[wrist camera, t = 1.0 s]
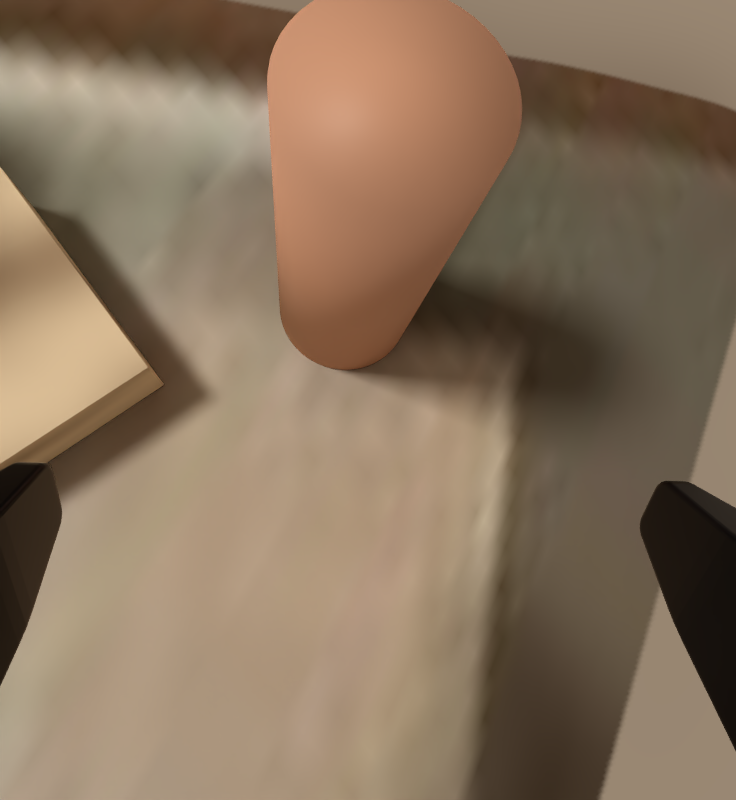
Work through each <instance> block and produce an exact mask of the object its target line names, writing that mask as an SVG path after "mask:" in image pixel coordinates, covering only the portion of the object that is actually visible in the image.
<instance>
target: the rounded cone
mask: <svg viewBox="0 0 736 800" xmlns="http://www.w3.org/2000/svg"><path fill="white" fill-rule="evenodd" d="M267 89H268V107H269V125H270V142H271V160H272V178H273V195H274V213H275V231H276V248H277V266H278V284H279V301H280V314H281V320H282V324H283V327H284V329H285V332H286V334H287V336H288V337H289V339H290V341H291V342H292V343H293V345H294V346H295V347H296V348H297V349H298V350H299V351H300V352H301V353H302V354H303V355H305V356H306V357H307V358H309V359H310V360H312V361H314V362H316V363H318V364H320V365H323V366H325V367H329V368H333V369H340V370H351V369H359V368H363V367H366V366H369V365H371V364H374V363H376V362H377V361H379V360H381V359H382V358H384V357H385V356H386V355H387V354H388V353H389V352H390V351H391V350H392V349H393V348H394V347H395V346H396V344H397V343H398V341H399V340H400V338H401V336H402V335H403V333H404V331H405V330H406V328H407V326H408V325H409V323H410V321H411V320H412V318H413V316H414V315H415V313H416V311H417V310H418V308H419V306H420V305H421V303H422V301H423V300H424V298H425V296H426V295H427V293H428V291H429V290H430V288H431V286H432V285H433V283H434V281H435V280H436V278H437V276H438V275H439V273H440V271H441V270H442V268H443V266H444V265H445V263H446V262H447V260H448V258H449V257H450V255H451V253H452V252H453V250H454V248H455V247H456V245H457V243H458V242H459V240H460V238H461V237H462V235H463V233H464V232H465V230H466V228H467V227H468V225H469V223H470V222H471V220H472V218H473V217H474V215H475V213H476V212H477V210H478V208H479V207H480V205H481V203H482V202H483V200H484V198H485V197H486V195H487V193H488V192H489V190H490V188H491V187H492V185H493V183H494V182H495V180H496V178H497V177H498V175H499V174H500V172H501V170H502V169H503V167H504V165H505V164H506V162H507V160H508V158H509V157H510V155H511V153H512V151H513V149H514V147H515V144H516V141H517V139H518V136H519V131H520V126H521V121H522V101H521V92H520V88H519V84H518V80H517V77H516V74H515V71H514V69H513V66H512V64H511V62H510V60H509V58H508V57H507V55H506V53H505V51H504V50H503V48H502V47H501V46H500V44H499V43H498V41H497V40H496V39H495V37H494V36H493V35H492V34H491V33H490V32H489V31H488V30H487V28H486V27H485V26H483V25H482V24H481V23H480V22H479V21H478V20H477V19H476V18H475V17H473V16H472V15H470V14H469V13H468V12H466V11H465V10H464V9H462V8H460V7H459V6H457V5H455V4H454V3H452V2H450V1H448V0H314V1H313V2H311V3H310V4H308V5H307V6H306V7H304V8H303V9H302V10H300V11H299V12H298V13H297V14H296V15H295V16H294V17H293V18H292V19H291V20H290V21H289V23H288V24H287V25H286V27H285V28H284V29H283V31H282V32H281V34H280V36H279V38H278V40H277V42H276V44H275V46H274V49H273V52H272V55H271V58H270V62H269V68H268V84H267Z"/></svg>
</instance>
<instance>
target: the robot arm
mask: <svg viewBox="0 0 736 800" xmlns="http://www.w3.org/2000/svg"><path fill="white" fill-rule="evenodd" d="M61 519H62V508H61V503H60V499H59V494H58V490H57V486H56V482H55V478H54V473H53V470H52V468H51V467H50V465H48V464H46V463H43V462H16V463H13V464H11V465H9V466H7V467H5V468H4V469H2V470H0V686H1V683H2V681H3V679H4V677H5V675H6V672H7V670H8V668H9V666H10V664H11V661H12V659H13V657H14V655H15V653H16V650H17V648H18V646H19V644H20V641H21V639H22V637H23V634H24V632H25V630H26V627H27V625H28V622H29V619H30V616H31V613H32V611H33V608H34V605H35V601H36V598H37V595H38V592H39V589H40V586H41V583H42V580H43V577H44V574H45V571H46V568H47V564H48V561H49V558H50V555H51V552H52V549H53V546H54V543H55V540H56V537H57V534H58V531H59V527H60V524H61ZM640 532H641V536H642V539H643V542H644V545H645V547H646V550H647V553H648V555H649V558H650V561H651V563H652V566H653V569H654V572H655V574H656V577H657V580H658V582H659V585H660V588H661V590H662V593H663V596H664V599H665V601H666V604H667V607H668V609H669V612H670V614H671V617H672V619H673V622H674V624H675V626H676V628H677V631H678V633H679V635H680V637H681V639H682V641H683V644H684V645H685V648H686V649H687V652H688V654H689V656H690V658H691V660H692V662H693V664H694V665H695V668H696V670H697V672H698V674H699V676H700V678H701V681H702V682H703V685H704V687H705V689H706V691H707V693H708V695H709V697H710V699H711V701H712V703H713V705H714V707H715V709H716V711H717V713H718V716H719V718H720V720H721V722H722V724H723V726H724V728H725V730H726V732H727V734H728V736H729V738H730V740H731V742H732V744H733V746H734V749H735V750H736V508H735V507H733V506H731V505H729V504H727V503H725V502H724V501H722V500H720V499H719V498H717V497H715V496H713V495H712V494H710V493H708V492H706V491H704V490H703V489H701V488H699V487H697V486H696V485H694V484H692V483H689V482H685V481H664V482H661V483H660V484H659V485H658V486H657V487H656V488H655V490H654V493H653V495H652V497H651V499H650V501H649V503H648V505H647V507H646V509H645V511H644V513H643V515H642V518H641V521H640Z"/></svg>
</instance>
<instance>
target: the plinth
mask: <svg viewBox="0 0 736 800" xmlns="http://www.w3.org/2000/svg"><path fill="white" fill-rule="evenodd" d="M163 385H164V383H163V382H162V381H161V379H160V378H159V377H158V375H157V374H156V373H155V371H154V370H153V369H152V367H151V366H150V364H149V363H148V362H147V360H146V359H145V358H144V356H143V355H142V354H141V352H140V351H139V350H138V348H137V347H136V346H135V344H134V343H133V341H132V340H131V339H130V337H129V336H128V335H127V333H126V332H125V331H124V329H123V328H122V327H121V325H120V324H119V322H118V321H117V320H116V318H115V317H114V316H113V314H112V313H111V312H110V310H109V309H108V308H107V306H106V305H105V304H104V302H103V301H102V299H101V298H100V297H99V295H98V294H97V293H96V291H95V290H94V289H93V287H92V286H91V285H90V283H89V282H88V281H87V279H86V278H85V276H84V275H83V274H82V272H81V271H80V270H79V268H78V267H77V266H76V264H75V263H74V262H73V260H72V259H71V257H70V256H69V255H68V253H67V252H66V251H65V249H64V248H63V247H62V245H61V244H60V243H59V241H58V240H57V239H56V237H55V236H54V234H53V233H52V232H51V230H50V229H49V228H48V226H47V225H46V224H45V222H44V221H43V220H42V218H41V217H40V215H39V214H38V213H37V211H36V210H35V209H34V207H33V206H32V205H31V203H30V202H29V201H28V200H27V199H26V197H25V196H24V195H23V194H22V193H21V191H20V190H19V189H18V188H17V187H16V185H15V184H14V183H13V182H12V181H11V179H10V178H9V177H8V176H7V175H6V173H5V172H4V171H3V170H2V168H1V167H0V470H2V469H4V468H5V467H7V466H9V465H11V464H13V463H16V462H43V463H47V462H49V461H50V460H52V459H53V458H55V457H56V456H58V455H59V454H61V453H62V452H64V451H65V450H67V449H68V448H70V447H71V446H73V445H74V444H76V443H77V442H79V441H80V440H82V439H83V438H85V437H86V436H88V435H89V434H91V433H92V432H94V431H95V430H97V429H98V428H100V427H101V426H103V425H104V424H106V423H107V422H109V421H110V420H112V419H113V418H115V417H116V416H118V415H119V414H121V413H122V412H124V411H125V410H127V409H128V408H130V407H131V406H133V405H134V404H136V403H137V402H139V401H140V400H142V399H143V398H145V397H146V396H148V395H150V394H151V393H153V392H154V391H156V390H157V389H159V388H160V387H162V386H163Z"/></svg>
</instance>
